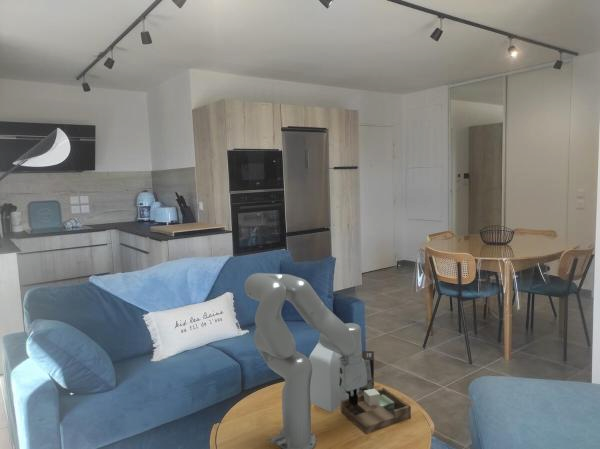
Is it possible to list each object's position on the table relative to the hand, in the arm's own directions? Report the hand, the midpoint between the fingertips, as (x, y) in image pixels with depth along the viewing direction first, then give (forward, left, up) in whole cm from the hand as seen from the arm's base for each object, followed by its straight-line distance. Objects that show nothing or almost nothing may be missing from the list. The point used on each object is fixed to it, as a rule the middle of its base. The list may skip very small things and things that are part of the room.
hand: (353, 403), depth 166 cm
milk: (-3, +14, -5) cm, 15 cm away
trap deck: (+7, -4, -5) cm, 9 cm away
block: (+9, +1, -2) cm, 9 cm away
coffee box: (+14, +12, -5) cm, 19 cm away
